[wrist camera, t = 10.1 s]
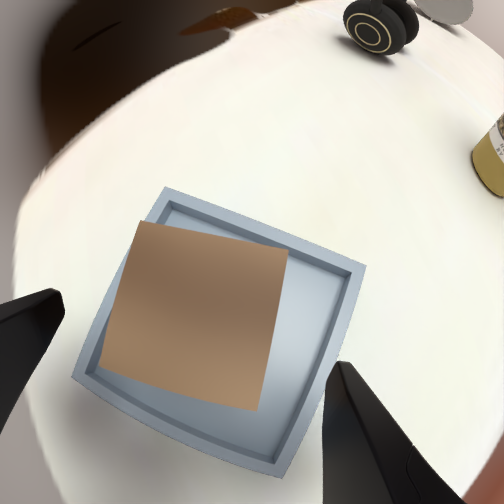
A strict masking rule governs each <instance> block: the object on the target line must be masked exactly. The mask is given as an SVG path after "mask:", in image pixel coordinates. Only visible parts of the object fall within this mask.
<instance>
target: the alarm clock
mask: <svg viewBox="0 0 504 504" xmlns="http://www.w3.org/2000/svg"><path fill="white" fill-rule="evenodd" d="M414 1H415V3H416V4H417V6H418V7H417V8H416V9H419V8H420V9H421V10H422V11H423V12H424V13H425V14H426V15H427V16H429V17H430V18H431V21H433V20H435V21H438V22H440V23H443V24H447V26H448V27H449V25H457V24H461V23H463V22H465V21H467V20H468V19H469V17H470V16H471V14H472V11H473V1H472V0H414Z"/></svg>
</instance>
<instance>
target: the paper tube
mask: <svg viewBox="0 0 504 504" xmlns="http://www.w3.org/2000/svg"><path fill="white" fill-rule="evenodd" d="M472 158H473V163H474V166H475V169H476V171H477V173H478V175H479V176H480V178H481V179H482V181H483V182H484V184H485V185H486V186H487V187H488V188H489V189H490V190H491V191H492V192H494V193H495V194H497V195H499V196H503V197H504V113H503V114H502V116H501V117H500V118H499V119H498V120H497V122H496V123H495V124H494V125H493V126H492V128H491V129H490V130H489V131H488V133H487V134H486V135H485V136H484V137H483V138H482V139H481V141H480V142H479V143H478V144H477V145H476V146H475V148H474V149H473V154H472Z"/></svg>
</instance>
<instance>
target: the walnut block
mask: <svg viewBox="0 0 504 504" xmlns="http://www.w3.org/2000/svg"><path fill="white" fill-rule="evenodd" d="M288 252H289V250H287V249H282V248H277V247H272V246H267V245H262V244H257V243H252V242H248V241H243V240H238V239H233V238H228V237H223V236H218V235H213V234H208V233H203V232H198V231H193V230H187V229H182V228H177V227H172V226H167V225H162V224H157V223H152V222H147V221H141V220H140V222H139V225H138V228H137V230H136V233H135V236H134V239H133V242H132V245H131V248H130V251H129V254H128V257H127V260H126V263H125V266H124V269H123V273H122V276H121V279H120V282H119V286H118V289H117V293H116V296H115V300H114V304H113V307H112V311H111V315H110V319H109V323H108V327H107V331H106V335H105V339H104V344H103V348H102V353H101V358H100V363H99V366H100V367H102V368H105V369H107V370H110V371H112V372H115V373H117V374H120V375H123V376H125V377H128V378H131V379H134V380H137V381H140V382H142V383H145V384H148V385H152V386H155V387H158V388H161V389H164V390H168V391H171V392H174V393H178V394H181V395H185V396H189V397H192V398H196V399H200V400H204V401H208V402H212V403H217V404H221V405H226V406H230V407H235V408H240V409H245V410H251V411H256V412H257V409H258V404H259V400H260V395H261V391H262V386H263V382H264V377H265V372H266V368H267V363H268V358H269V353H270V348H271V343H272V338H273V333H274V328H275V323H276V318H277V313H278V308H279V302H280V297H281V292H282V286H283V281H284V275H285V269H286V264H287V258H288Z"/></svg>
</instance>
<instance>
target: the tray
mask: <svg viewBox="0 0 504 504" xmlns="http://www.w3.org/2000/svg"><path fill="white" fill-rule="evenodd" d="M145 221H147V222H152V223H157V224H162V225H167V226H172V227H177V228H182V229H187V230H193V231H198V232H203V233H208V234H213V235H218V236H223V237H228V238H233V239H238V240H243V241H248V242H252V243H257V244H262V245H267V246H272V247H277V248H282V249H287V250H289V252H288V258H287V264H286V269H285V275H284V281H283V286H282V292H281V297H280V302H279V308H278V313H277V318H276V323H275V328H274V333H273V338H272V343H271V348H270V353H269V358H268V363H267V368H266V372H265V377H264V382H263V386H262V391H261V395H260V400H259V404H258V409H257V412H256V411H251V410H245V409H240V408H235V407H230V406H226V405H221V404H217V403H212V402H208V401H204V400H200V399H196V398H192V397H189V396H185V395H181V394H178V393H174V392H171V391H168V390H164V389H161V388H158V387H155V386H152V385H148V384H145V383H142V382H140V381H137V380H134V379H131V378H128V377H125V376H123V375H120V374H117V373H115V372H112V371H110V370H107V369H105V368H102V367H100V366H99V363H100V358H101V353H102V348H103V344H104V339H105V335H106V331H107V327H108V323H109V319H110V315H111V311H112V307H113V304H114V300H115V296H116V293H117V289H118V286H119V282H120V279H121V276H122V273H123V269H124V266H125V263H126V260H127V257H128V254H129V251H130V248H131V246H130V248H129V249H128V251H127V253H126V255H125V257H124V259H123V261H122V263H121V265H120V267H119V269H118V271H117V272H116V274H115V276H114V278H113V281H112V283H111V285H110V287H109V289H108V291H107V293H106V295H105V297H104V299H103V301H102V304H101V306H100V308H99V310H98V312H97V315H96V317H95V319H94V321H93V324H92V326H91V328H90V331H89V333H88V335H87V338H86V340H85V343H84V345H83V348H82V350H81V353H80V355H79V358H78V360H77V363H76V366H75V368H74V371H73V374H72V378H73V379H75V380H76V381H77V382H79V383H80V384H81V385H83V386H84V387H86V388H87V389H89V390H90V391H91V392H93V393H94V394H96V395H97V396H99V397H100V398H102V399H103V400H105V401H106V402H108V403H110V404H111V405H113V406H114V407H116V408H118V409H119V410H121V411H122V412H124V413H126V414H127V415H129V416H131V417H133V418H134V419H136V420H138V421H140V422H141V423H143V424H145V425H147V426H149V427H151V428H153V429H154V430H156V431H158V432H160V433H162V434H164V435H166V436H168V437H170V438H172V439H175V440H177V441H179V442H181V443H183V444H185V445H187V446H190V447H192V448H194V449H197V450H199V451H201V452H204V453H206V454H209V455H211V456H214V457H216V458H219V459H221V460H224V461H227V462H230V463H232V464H235V465H238V466H241V467H244V468H247V469H250V470H253V471H256V472H260V473H263V474H266V475H270V476H274V477H277V478H281V479H282V478H283V476H284V474H285V472H286V470H287V469H288V467H289V465H290V463H291V461H292V459H293V457H294V455H295V453H296V451H297V449H298V447H299V445H300V443H301V441H302V439H303V437H304V435H305V433H306V431H307V429H308V426H309V424H310V422H311V420H312V418H313V416H314V413H315V411H316V409H317V406H318V404H319V402H320V400H321V397H322V395H323V392H324V390H325V385H326V380H327V378H328V376H329V374H330V372H331V370H332V368H333V366H334V364H335V362H336V359H337V357H338V354H339V351H340V349H341V346H342V343H343V340H344V337H345V334H346V331H347V329H348V326H349V323H350V320H351V316H352V313H353V310H354V307H355V304H356V301H357V297H358V294H359V291H360V287H361V284H362V280H363V277H364V273H365V269H366V265H364V264H362V263H359V262H357V261H354V260H352V259H350V258H347V257H345V256H343V255H340V254H338V253H335V252H333V251H331V250H328V249H326V248H323V247H321V246H318V245H316V244H314V243H311V242H309V241H306V240H304V239H301V238H299V237H296V236H294V235H291V234H289V233H286V232H284V231H281V230H279V229H276V228H274V227H271V226H269V225H266V224H264V223H261V222H259V221H256V220H253V219H251V218H248V217H246V216H243V215H240V214H238V213H235V212H233V211H230V210H227V209H225V208H222V207H219V206H217V205H214V204H212V203H209V202H206V201H203V200H201V199H198V198H195V197H193V196H190V195H187V194H184V193H182V192H179V191H176V190H173V189H171V188H168V187H164V189H163V191H162V192H161V194H160V195H159V197H158V199H157V200H156V202H155V204H154V205H153V207H152V209H151V210H150V212H149V214H148V215H147V217H146V219H145ZM131 245H132V244H131Z"/></svg>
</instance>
